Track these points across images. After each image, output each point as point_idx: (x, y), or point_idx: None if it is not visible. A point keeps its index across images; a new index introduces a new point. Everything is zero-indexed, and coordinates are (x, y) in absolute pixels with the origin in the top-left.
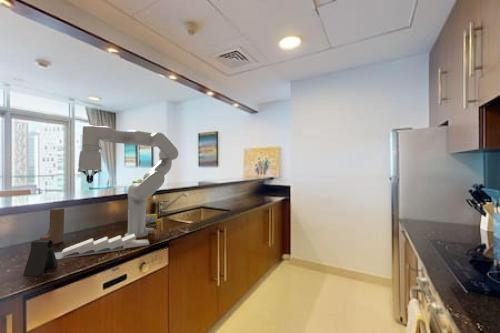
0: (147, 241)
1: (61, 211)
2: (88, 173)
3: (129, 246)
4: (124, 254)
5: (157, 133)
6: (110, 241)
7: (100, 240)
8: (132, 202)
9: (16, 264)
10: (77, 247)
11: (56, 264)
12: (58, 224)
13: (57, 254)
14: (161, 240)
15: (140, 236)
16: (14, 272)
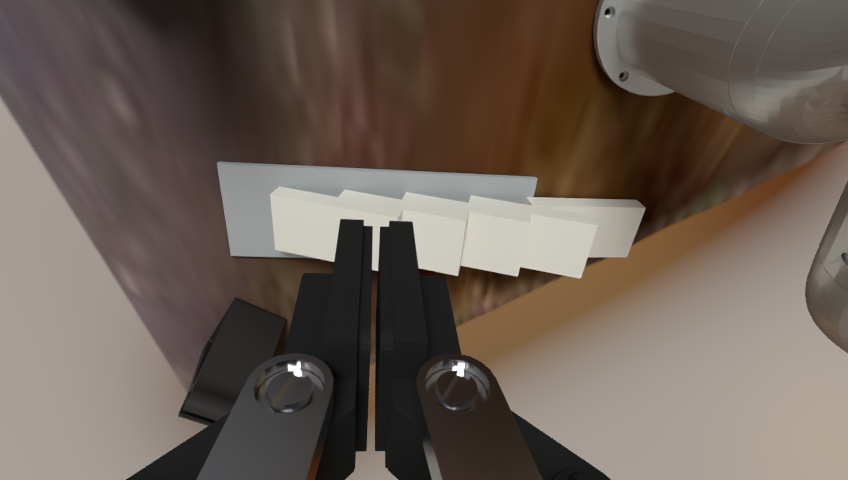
0: (626, 244)
1: None
2: (322, 444)
3: None
4: (499, 302)
5: None
6: (471, 255)
7: (430, 242)
8: (809, 119)
9: (123, 230)
10: (333, 260)
11: (281, 330)
12: None
13: (253, 198)
14: (705, 199)
15: (660, 94)
16: (160, 307)
